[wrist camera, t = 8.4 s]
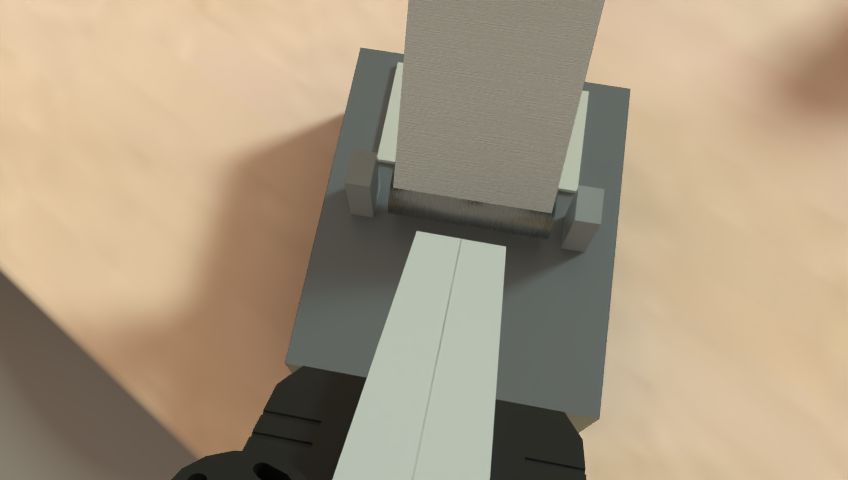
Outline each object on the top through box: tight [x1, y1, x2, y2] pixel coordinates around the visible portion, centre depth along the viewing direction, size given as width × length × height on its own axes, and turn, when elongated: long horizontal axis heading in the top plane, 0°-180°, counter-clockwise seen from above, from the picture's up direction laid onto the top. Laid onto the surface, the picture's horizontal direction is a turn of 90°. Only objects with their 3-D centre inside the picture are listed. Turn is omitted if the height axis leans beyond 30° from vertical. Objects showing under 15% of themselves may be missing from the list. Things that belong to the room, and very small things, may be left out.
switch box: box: [285, 48, 630, 433], centre depth 28 cm, size 12×10×6 cm
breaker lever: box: [388, 0, 605, 240], centre depth 22 cm, size 2×6×12 cm
